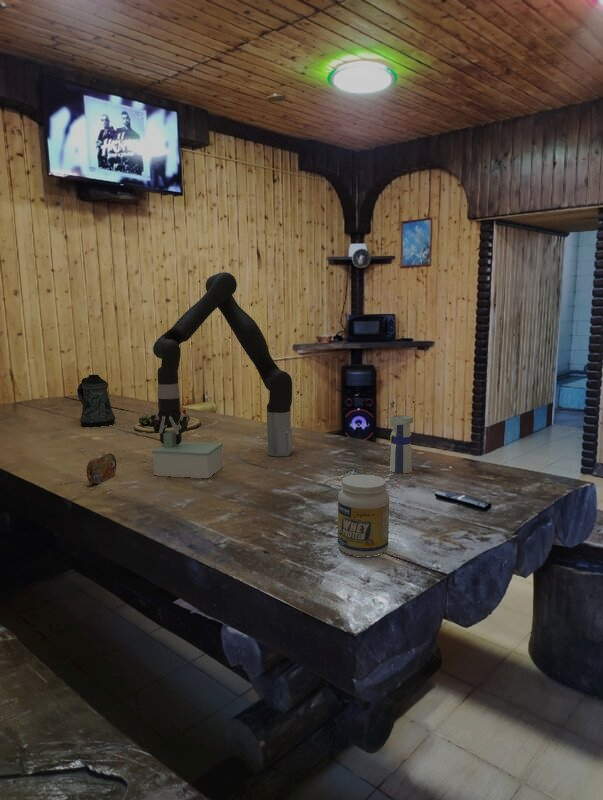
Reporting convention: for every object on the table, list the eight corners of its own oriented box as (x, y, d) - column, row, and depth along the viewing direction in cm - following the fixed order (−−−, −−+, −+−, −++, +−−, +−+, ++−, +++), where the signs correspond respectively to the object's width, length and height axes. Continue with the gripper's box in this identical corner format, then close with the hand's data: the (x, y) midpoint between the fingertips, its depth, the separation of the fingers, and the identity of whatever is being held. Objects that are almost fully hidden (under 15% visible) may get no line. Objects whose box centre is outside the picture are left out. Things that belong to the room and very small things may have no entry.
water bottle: (386, 473, 199) (387, 402, 195) (391, 466, 207) (392, 398, 203) (409, 475, 196) (411, 403, 192) (413, 468, 204) (415, 399, 200)
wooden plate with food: (170, 418, 303) (169, 403, 302) (214, 424, 285) (213, 408, 284) (120, 430, 278) (118, 413, 276) (164, 437, 259) (163, 420, 258)
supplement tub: (330, 555, 134) (330, 485, 131) (345, 535, 145) (345, 471, 142) (382, 562, 129) (383, 490, 127) (393, 542, 141) (394, 475, 138)
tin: (94, 487, 187) (92, 462, 185) (85, 486, 187) (83, 461, 186) (117, 474, 201) (116, 450, 200) (109, 473, 202) (108, 450, 201)
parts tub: (222, 467, 208) (222, 446, 206) (208, 478, 194) (207, 456, 193) (171, 464, 212) (170, 443, 211) (154, 475, 199) (152, 453, 197)
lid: (223, 450, 207) (222, 429, 206) (207, 460, 193) (207, 438, 192) (170, 447, 211) (169, 427, 210) (152, 457, 198) (151, 436, 196)
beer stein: (108, 428, 279) (105, 377, 275) (69, 428, 279) (65, 377, 276) (119, 421, 296) (117, 373, 292) (82, 421, 296) (79, 373, 292)
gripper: (192, 395, 202) (194, 442, 205) (155, 394, 206) (157, 440, 208) (183, 398, 195) (185, 447, 198) (144, 397, 198) (147, 445, 201)
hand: (171, 443), depth 203 cm, fingers open, 5 cm apart
